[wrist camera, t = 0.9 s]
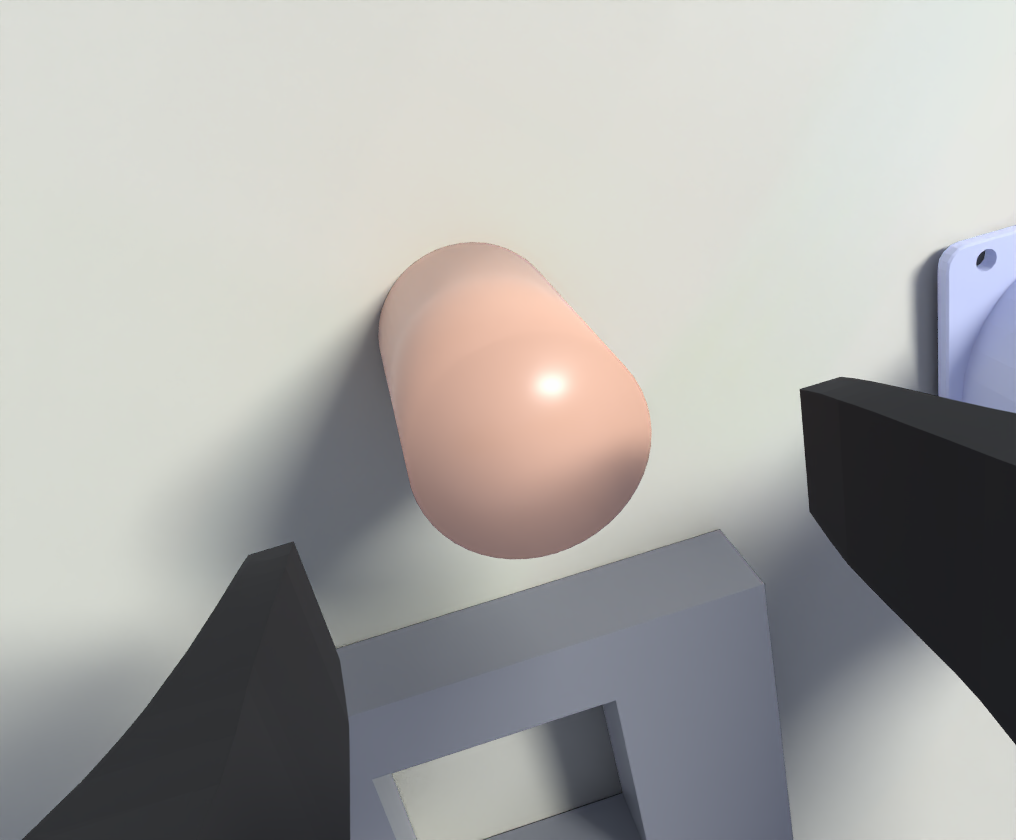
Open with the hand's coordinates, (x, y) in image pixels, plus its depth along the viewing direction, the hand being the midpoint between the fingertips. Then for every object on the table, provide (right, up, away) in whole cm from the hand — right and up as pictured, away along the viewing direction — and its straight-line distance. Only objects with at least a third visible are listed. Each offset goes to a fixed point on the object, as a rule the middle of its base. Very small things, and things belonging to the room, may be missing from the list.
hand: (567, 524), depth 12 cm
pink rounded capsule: (-2, +3, +7) cm, 8 cm away
